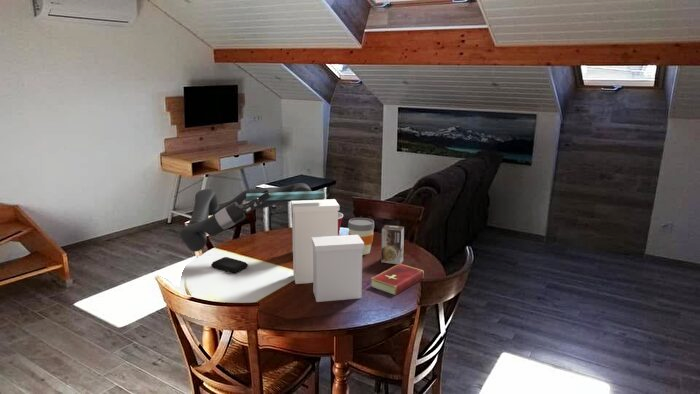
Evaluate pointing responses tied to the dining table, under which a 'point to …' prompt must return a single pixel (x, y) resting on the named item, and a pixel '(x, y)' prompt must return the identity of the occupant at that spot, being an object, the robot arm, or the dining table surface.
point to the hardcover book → (397, 278)
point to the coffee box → (392, 244)
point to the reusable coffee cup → (362, 231)
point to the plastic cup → (339, 221)
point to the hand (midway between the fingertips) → (268, 193)
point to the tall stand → (311, 232)
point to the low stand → (337, 267)
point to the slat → (288, 195)
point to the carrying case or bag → (229, 265)
